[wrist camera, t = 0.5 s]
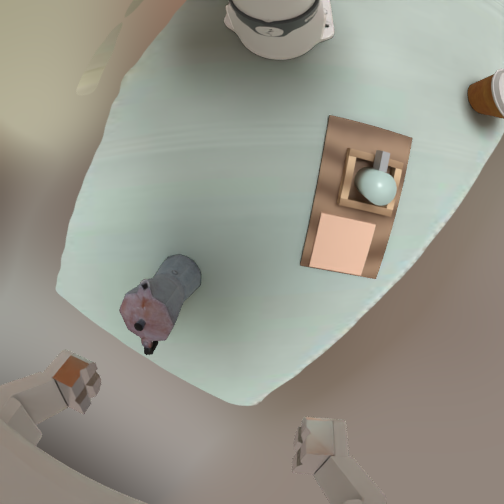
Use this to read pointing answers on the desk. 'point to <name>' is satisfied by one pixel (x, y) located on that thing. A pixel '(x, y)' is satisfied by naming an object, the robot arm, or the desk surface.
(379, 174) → the pale blue rounded piece
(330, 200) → the walnut board
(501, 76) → the disposable coffee cup
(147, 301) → the moka pot
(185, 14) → the desk surface
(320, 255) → the terracotta coaster
